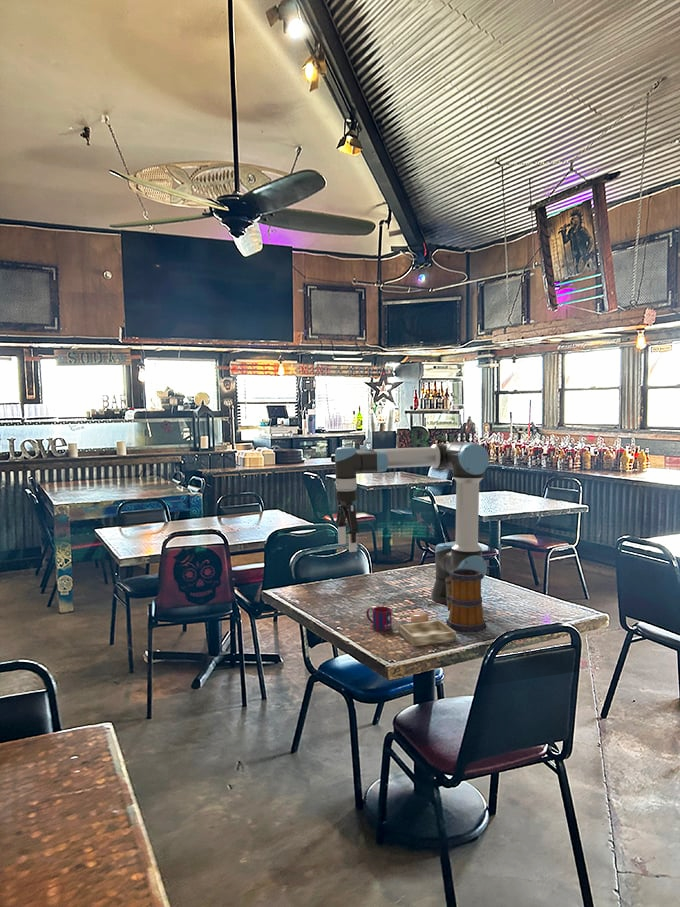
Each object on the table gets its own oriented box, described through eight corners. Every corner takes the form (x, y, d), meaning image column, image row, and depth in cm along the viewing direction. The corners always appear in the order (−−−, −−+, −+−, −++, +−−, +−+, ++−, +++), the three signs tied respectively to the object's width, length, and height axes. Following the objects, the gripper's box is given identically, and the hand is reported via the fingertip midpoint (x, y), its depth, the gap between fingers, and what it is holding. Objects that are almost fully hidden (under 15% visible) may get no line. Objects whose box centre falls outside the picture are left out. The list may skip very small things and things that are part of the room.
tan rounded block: (424, 620, 234) (424, 611, 233) (431, 626, 228) (431, 616, 227) (408, 622, 232) (407, 612, 232) (414, 628, 226) (414, 618, 225)
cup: (383, 632, 221) (382, 613, 221) (362, 626, 229) (362, 607, 228) (395, 627, 226) (395, 609, 226) (374, 621, 233) (374, 603, 233)
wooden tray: (439, 628, 225) (439, 620, 224) (456, 640, 213) (456, 631, 212) (398, 633, 220) (398, 625, 220) (413, 646, 208) (412, 637, 208)
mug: (430, 620, 234) (430, 566, 233) (463, 614, 240) (463, 562, 238) (460, 636, 216) (460, 579, 215) (495, 630, 222) (495, 574, 221)
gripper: (327, 486, 240) (328, 541, 242) (346, 494, 216) (347, 555, 218) (346, 485, 242) (347, 540, 244) (367, 493, 218) (368, 554, 220)
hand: (347, 547), depth 231 cm, fingers open, 13 cm apart
